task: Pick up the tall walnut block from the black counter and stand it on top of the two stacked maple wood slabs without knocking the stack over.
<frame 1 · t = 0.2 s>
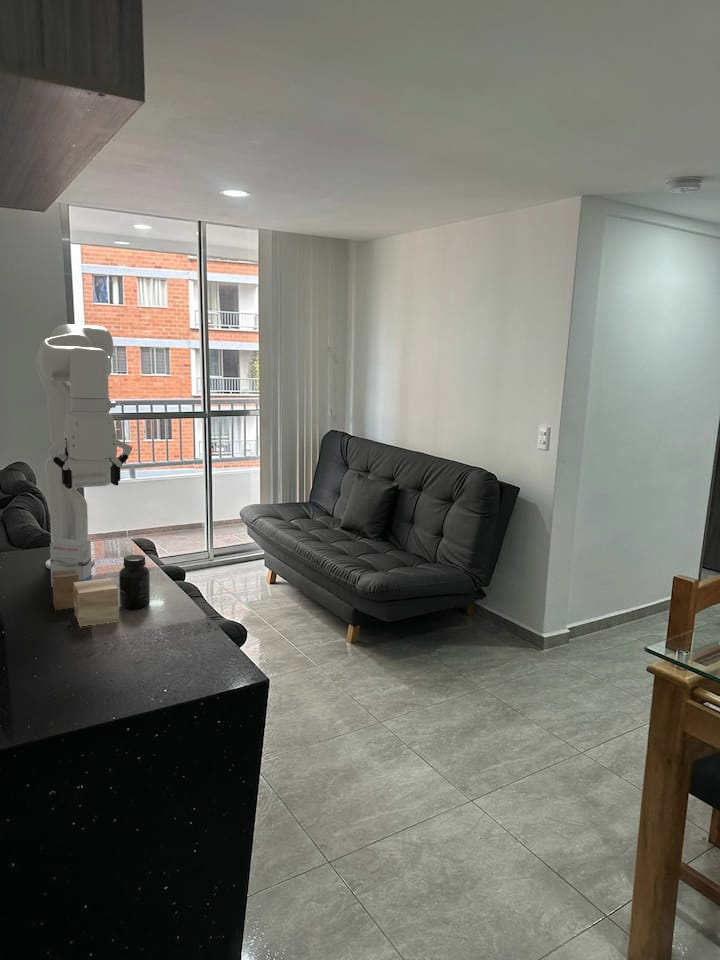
hand: (91, 486, 141), 30 cm above the table, tool pointing down, fingers open, 9 cm apart
supplement bottle: (134, 606, 155), on the table
walnut block: (66, 605, 153), on the table
upper maple slab: (95, 602, 146), point 4 cm above the table, touching lower maple slab
lower maple slab: (96, 619, 147), on the table, touching upper maple slab
ink box: (71, 586, 167), on the table
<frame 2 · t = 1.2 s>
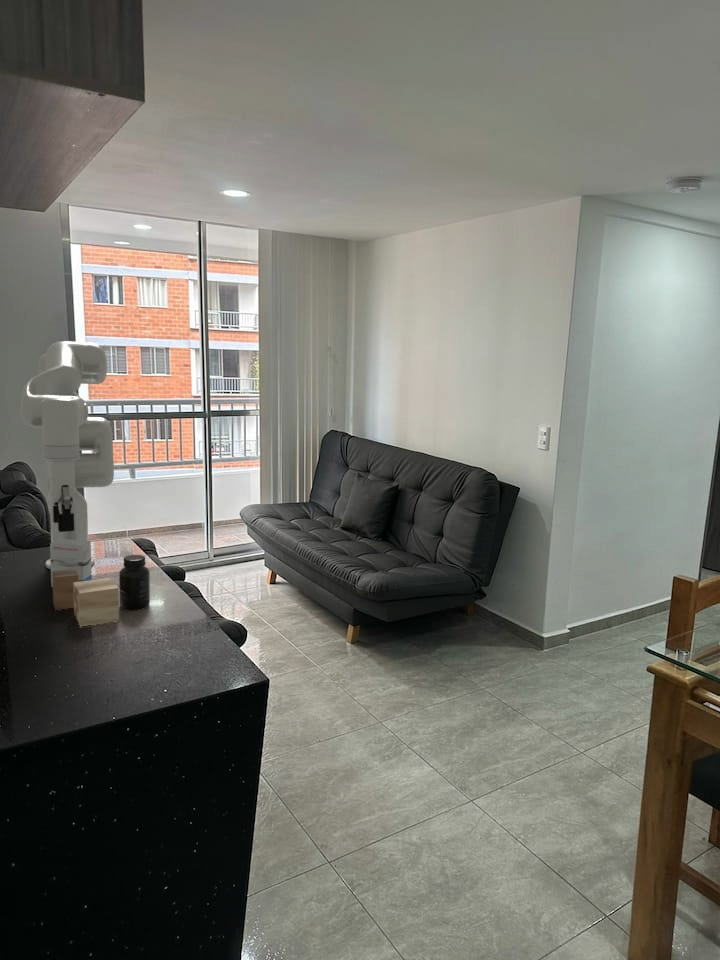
hand: (63, 526, 150), 19 cm above the table, tool pointing down, fingers open, 9 cm apart
nothing on the table moved.
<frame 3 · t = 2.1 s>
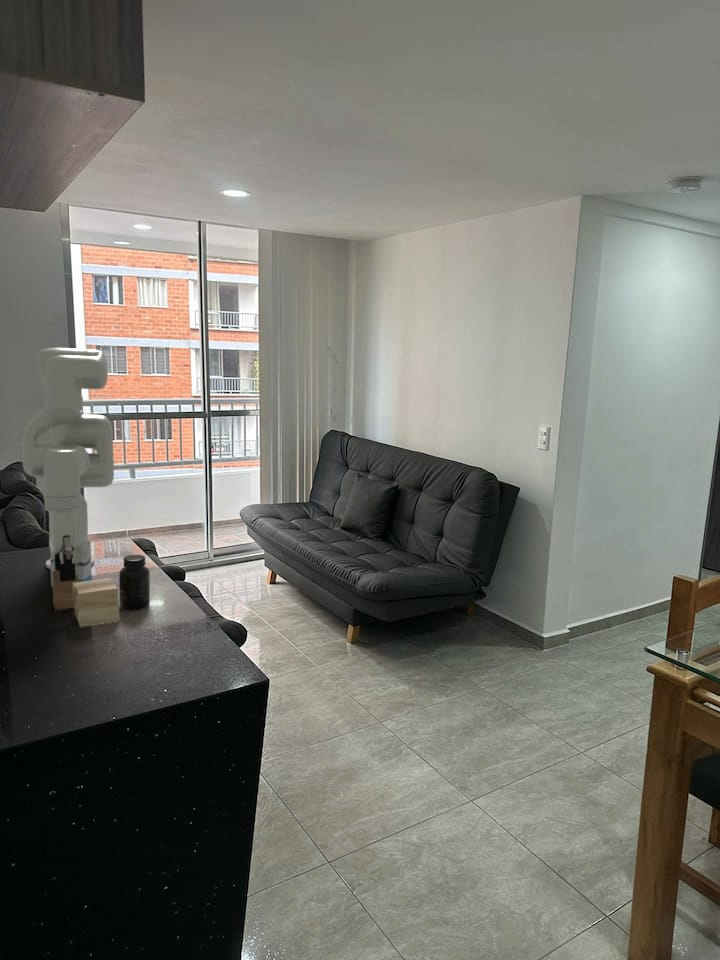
hand: (65, 575, 151), 8 cm above the table, tool pointing down, fingers open, 9 cm apart
nothing on the table moved.
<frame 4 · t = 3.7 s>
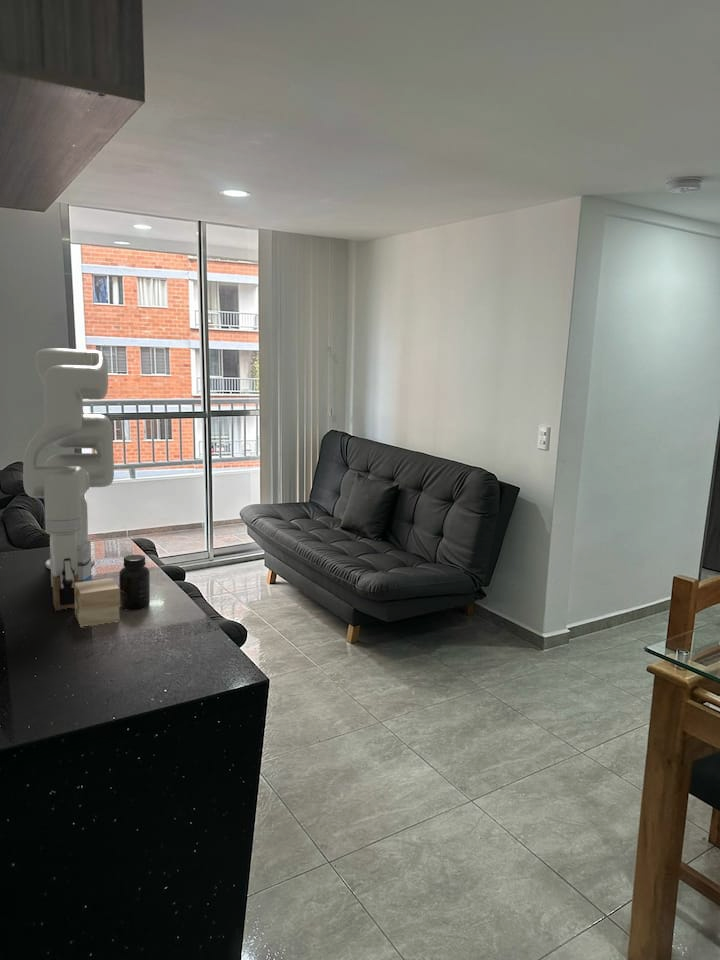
hand: (65, 599, 153), 1 cm above the table, tool pointing down, fingers closed on walnut block, 5 cm apart
walnut block: (66, 605, 153), on the table, touching gripper
upper maple slab: (97, 602, 146), point 4 cm above the table
lower maple slab: (97, 619, 147), on the table
everything else where it was.
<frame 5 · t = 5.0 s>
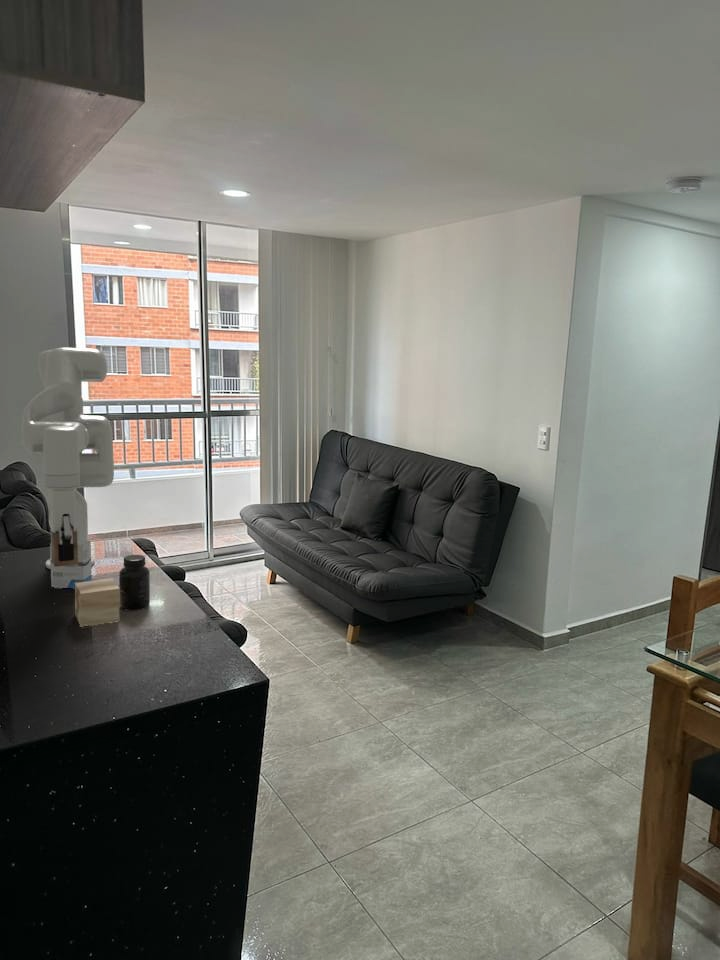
hand: (64, 555, 152), 12 cm above the table, tool pointing down, fingers closed on walnut block, 5 cm apart
walnut block: (64, 562, 153), point 10 cm above the table, touching gripper
everything else where it was.
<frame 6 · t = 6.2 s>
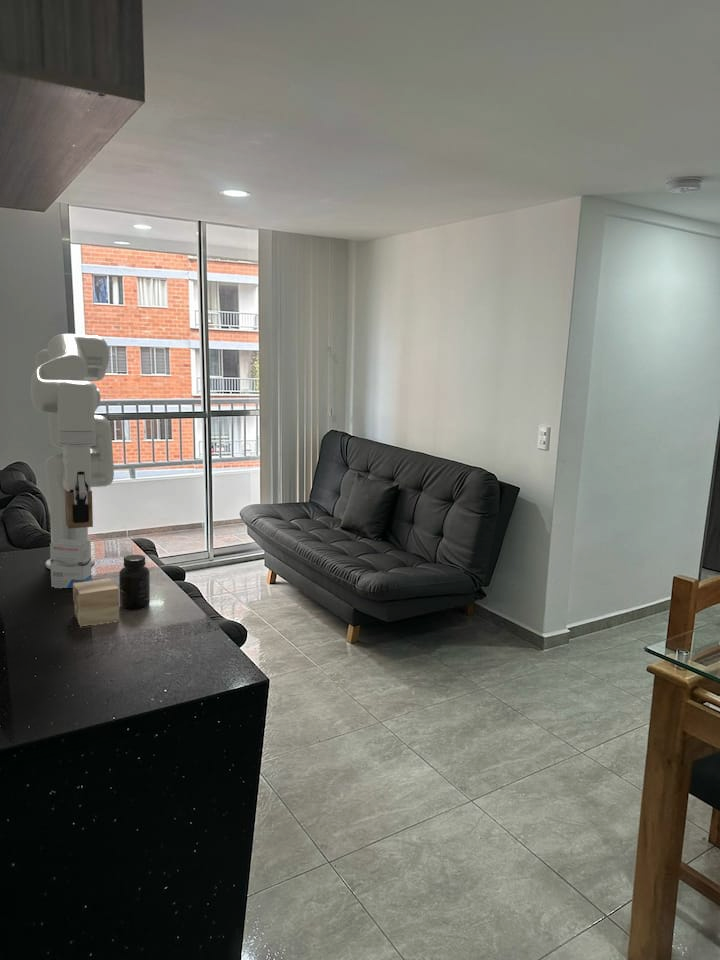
hand: (79, 518, 146), 22 cm above the table, tool pointing down, fingers closed on walnut block, 5 cm apart
walnut block: (79, 525, 146), point 21 cm above the table, touching gripper
upper maple slab: (96, 602, 146), point 4 cm above the table, touching lower maple slab
lower maple slab: (96, 619, 147), on the table, touching upper maple slab
everything else where it was.
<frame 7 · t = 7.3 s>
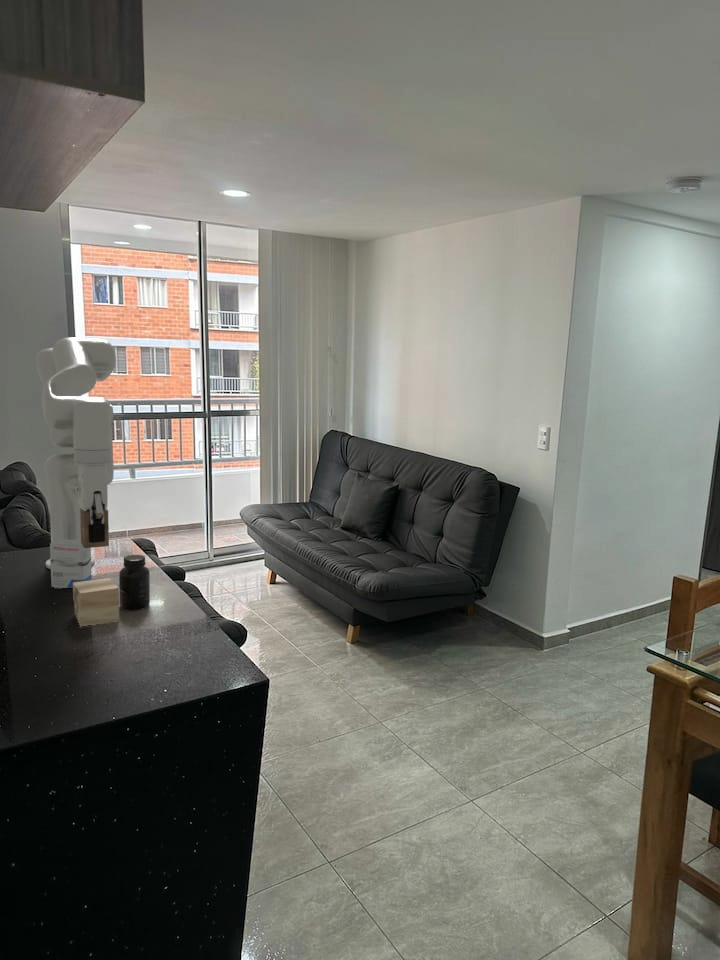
hand: (94, 538, 143), 19 cm above the table, tool pointing down, fingers closed on walnut block, 5 cm apart
walnut block: (94, 544, 144), point 17 cm above the table, touching gripper
everything else where it was.
when the fingers open (10 cm above the table, at t = 9.4 s): walnut block drops 1 cm, resting on upper maple slab.
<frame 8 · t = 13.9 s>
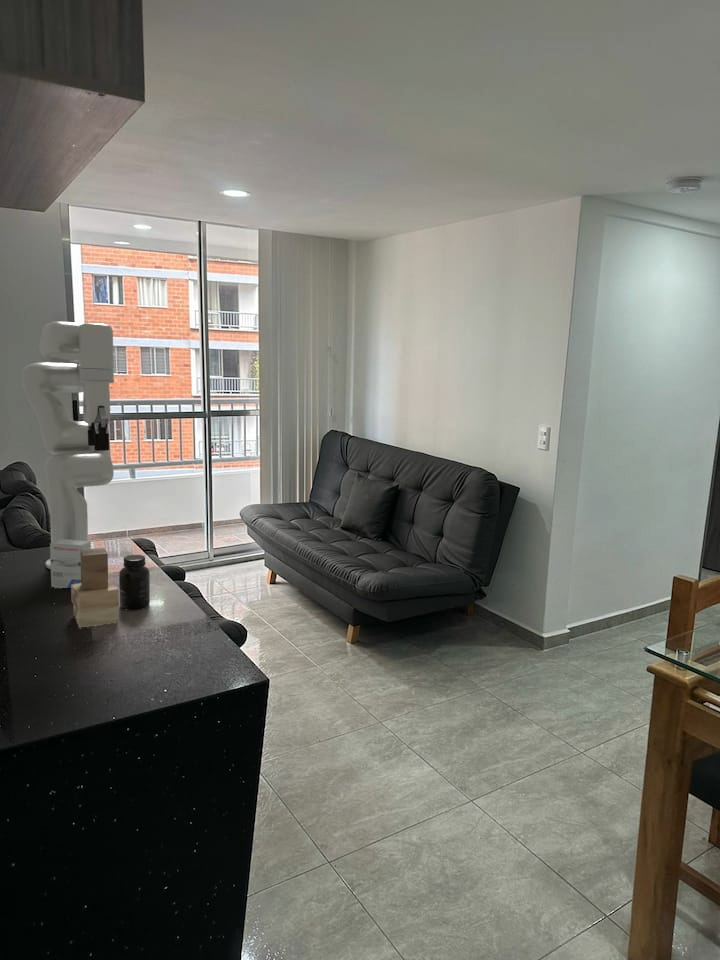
hand: (98, 447, 158), 36 cm above the table, tool pointing down, fingers open, 9 cm apart
walnut block: (94, 586, 145), point 8 cm above the table, touching upper maple slab
upper maple slab: (95, 604, 145), point 4 cm above the table, touching lower maple slab, walnut block
everything else where it was.
at the end: walnut block inside the target area on the upper maple slab (0.3 cm from its centre), point 4.0 cm above the upper maple slab's base; walnut block tilted 1°; lower maple slab moved 0.7 cm from its start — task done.
